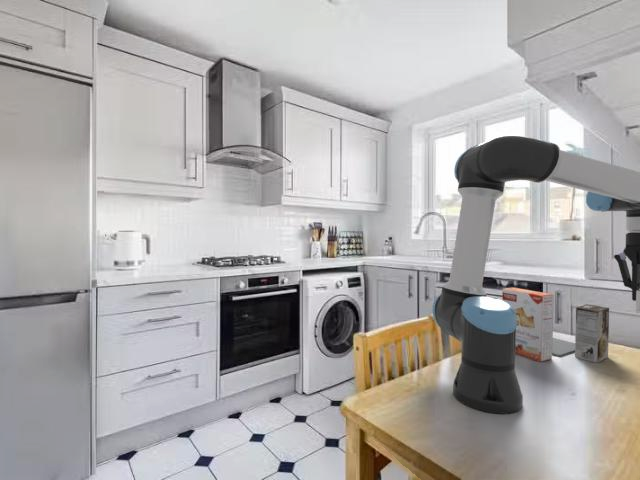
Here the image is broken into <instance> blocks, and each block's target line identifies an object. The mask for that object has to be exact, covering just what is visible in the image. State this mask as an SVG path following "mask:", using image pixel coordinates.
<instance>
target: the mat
mask: <svg viewBox="0 0 640 480" xmlns="http://www.w3.org/2000/svg"><path fill="white" fill-rule="evenodd" d="M572 353H575V342H571V341H567V340H564V339H560V338H555V337H552V356H555V357H558V358H561V357H564V356H566V355H570V354H572Z"/></svg>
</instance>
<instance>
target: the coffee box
mask: <svg viewBox="0 0 640 480" xmlns="http://www.w3.org/2000/svg"><path fill="white" fill-rule="evenodd" d="M609 323H610V307H606V306H600V305H596V304H595V305H594V304H587V303H586V304H584V305H580V306H577V307H576V308H575V336H574V337H575V341H574V343H575V352H574V357H575V358H577V359H580V360H585V361H589V362H594V363H597V364H598V363H599V362H602V361H604V359H606V358H608V357H609V337H610V336H609V334H610V332H609V331H610V330H609V327H610V324H609Z"/></svg>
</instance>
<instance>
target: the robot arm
mask: <svg viewBox="0 0 640 480" xmlns="http://www.w3.org/2000/svg"><path fill="white" fill-rule="evenodd" d="M453 171H454V178H455V180H457V183H458V187H457V192H458V194H459V195H461V197H462V199H461V203H460V204H461V205H460V211H459V218H458V223H457V229H456V235H455V241H454V248H453V254H452V260H451V261H452V262H451V268H450V273H449V274H450V275H449V279H448V281H446V282H445V283H444V284H443V285H442V286H441V293H440V294H439V296H438V297H436V298H435V299H434V302H433V304H432V310H431V311H432V317H433V320H434V322H435V323H436V325H437V326H438V327H439V328H440V329H441V330H442V332H444V333H445V334H446V335H448V336H451V337H452V338H453V339H456V340H457V341H459V342H461V351H460V352H461V360H460V365H459V367H458V370H457V373H456V375H455V377H454V379H453V384H452V385H453V386H452V387H453V388H452V393H453V396H454V397H455V399H456V400H458V401H459V402H460V403H462V404H463V405H466V406H467V407H470V408H473V409H475V410H478V411H482V412H487V413H492V414H502V415H503V414H513V413H516V412H519V411H521V409H522V408H523V405H524V404H523V401H524V399H523V398H524V397H523V393H522V391H521V386H520V384H519V383H520V382H519V379H518V377H517V374H516V369H515V367H516V366H515V365H516V353H515V341H516V327H517V323H516V314H515V310H514V308H513V307H512V306H511V305H509V304H508V303H506V302H504V301H502V300H500V299H498V298H497V299H496V298H493V297H489V296H488V293H487V291H486V290H485V289H484V287H483V282H484V276H485V270H486V264H487V259H488V258H487V257H488V252H489V245H490V244H489V243H490V238H491V232H492V227H493V221H494V220H493V219H494V214H495V209H496V208H495V207H496V202H497V200H498V199H499V198H501V197H502V196H504V191H505V185H506V183H507V182H514V181H529V182H533V183H543V182H545V181H547V182H550V183H554V184H558V185H562V186H566V187H570V188H574V189H577V190H582V191H584V192H585V191H586V192H587V193H586V198H585V203H586V205H587V207H588V208H589V209H590V210H592V211H594V212H595V211H596V212H604V213H605V212H625V213H626V215H625V217H626V218H625V230H626V231H627V232H626V233H625V247H624V249H623V251H622V252H620V253H619V254H614V255H613V257H614V259H615V260H616V262H617V263H618V264H617V265H618V267H619V271H620V275H621V279H622V282H623V286H624V287H626V288H629V289H631V299H632V301H633V302H635V313H636V314H640V171H638V170H635V169H630V168H627V167H624V166H619V165H616V164H612V163H609V162H605V161H601V160H598V159H595V158H590V157H587V156H583V155H579V154H577V153H572V152H569V151H565V150H561V148H560V146H559V145H558V144H557V143H553V142H550V141H547V140H542V139H538V138H534V137H531V136H526V135H525V136H524V135H517V134H503V135H498V136H494V137H492V138H491V139H489V140H486V141H484V142H482V143H480V144H476V145H474V146H471V147H470V148H468V149H466V150H464V151H463V153H461V154H460V156H459V157H458V158H457V160H456V162H455V165H454V170H453ZM627 258H628V260H629V261H630V263H631V274H630V271H629V267H628V263H627V260H626V259H627Z"/></svg>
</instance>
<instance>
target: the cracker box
mask: <svg viewBox="0 0 640 480" xmlns="http://www.w3.org/2000/svg"><path fill="white" fill-rule="evenodd" d="M501 294H502V300H501V301H504V302H506V303H508V304H509V305H511V306H512V307H513V308H514V310H515V314H516V323H517V327H516V341H515V354H517V355H519V356H523V357H526V358H528V359H531V360H535V361H537V362H539V363H541V362H545V361H546V362H547V361H549V360H553V355H552V338H554V337H553V336H554V335H553V333H554V331H553V330H554V294H553V293H552V294H551V293H545V292H541V291H535V290H529V289H525V288H518V287H504V288H502V293H501Z"/></svg>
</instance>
